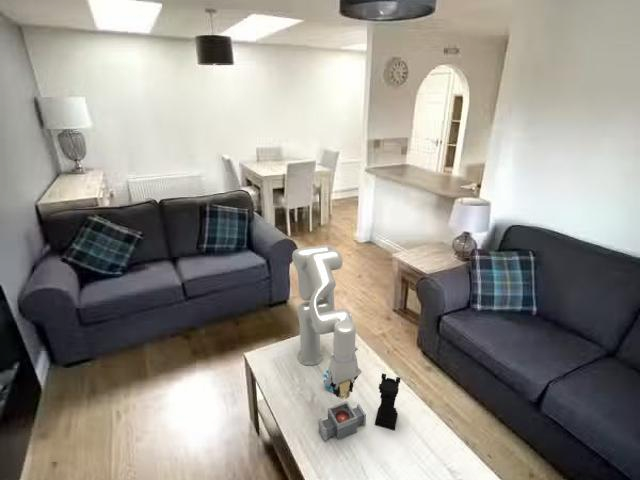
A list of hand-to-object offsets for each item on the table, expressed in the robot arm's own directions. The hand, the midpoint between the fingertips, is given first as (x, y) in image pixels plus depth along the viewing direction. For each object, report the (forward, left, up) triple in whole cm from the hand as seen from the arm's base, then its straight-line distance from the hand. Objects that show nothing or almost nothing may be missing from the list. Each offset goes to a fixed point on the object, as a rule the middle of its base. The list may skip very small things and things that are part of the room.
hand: (343, 391), depth 134 cm
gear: (-21, +7, -19) cm, 29 cm away
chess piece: (+4, +18, -19) cm, 27 cm away
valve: (0, 0, -19) cm, 19 cm away
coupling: (0, 0, -1) cm, 1 cm away
